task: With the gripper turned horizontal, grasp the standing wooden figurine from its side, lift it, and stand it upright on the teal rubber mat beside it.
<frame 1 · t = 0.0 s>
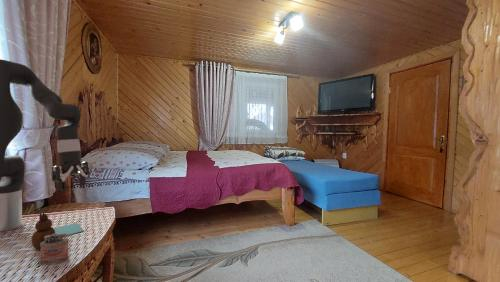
hand: (73, 188, 95), 22 cm above the table, tool pointing down, fingers open, 8 cm apart
mat: (65, 230, 102), on the table
lighter: (54, 261, 80), on the table
wooden figurine: (43, 247, 89), on the table
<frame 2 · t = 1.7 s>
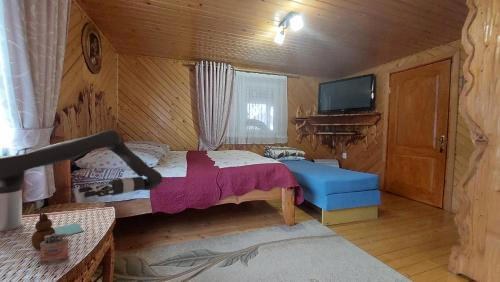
hand: (81, 192, 97), 20 cm above the table, tool horizontal, fingers open, 8 cm apart
nothing on the table moved.
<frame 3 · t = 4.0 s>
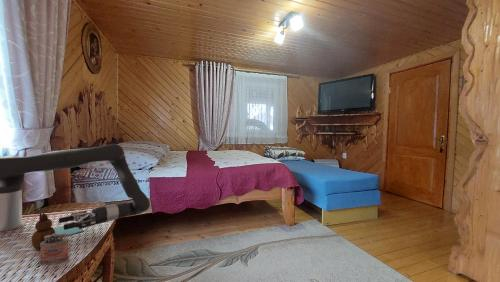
hand: (61, 223, 92), 8 cm above the table, tool horizontal, fingers open, 8 cm apart
nothing on the table moved.
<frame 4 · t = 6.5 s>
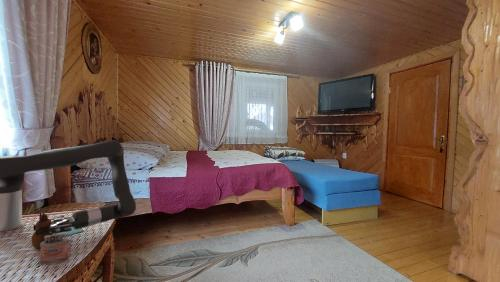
hand: (34, 229, 86), 8 cm above the table, tool horizontal, fingers closed on wooden figurine, 4 cm apart
wooden figurine: (43, 247, 88), on the table, touching gripper
everything else where it was.
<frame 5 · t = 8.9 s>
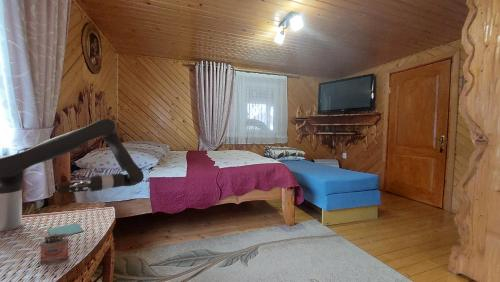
hand: (56, 188, 98), 21 cm above the table, tool horizontal, fingers closed on wooden figurine, 4 cm apart
wooden figurine: (64, 205, 100), point 12 cm above the table, touching gripper
everything else where it was.
when the fingers open (10 cm above the table, at t = 11.6 s): wooden figurine drops 1 cm, resting on mat.
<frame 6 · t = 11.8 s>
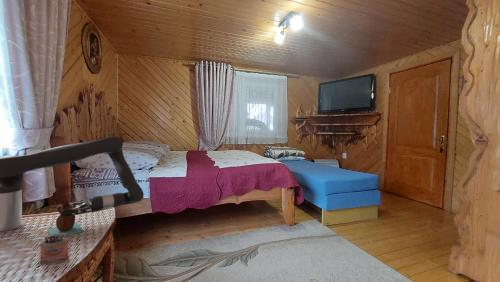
hand: (59, 211, 100), 10 cm above the table, tool horizontal, fingers open, 6 cm apart
wooden figurine: (65, 230, 103), resting on mat
everything else where it was.
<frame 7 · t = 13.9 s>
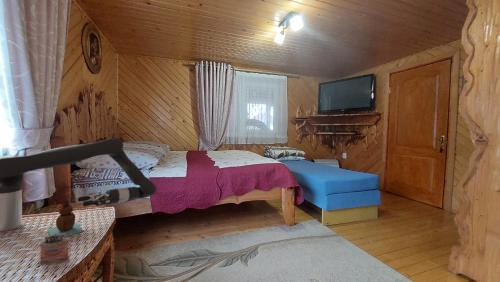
hand: (80, 201, 105), 13 cm above the table, tool horizontal, fingers open, 8 cm apart
nothing on the table moved.
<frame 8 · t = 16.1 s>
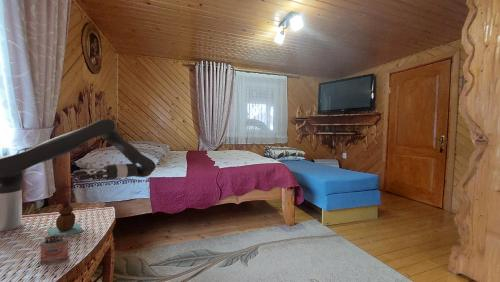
hand: (76, 175, 101), 26 cm above the table, tool horizontal, fingers open, 8 cm apart
nothing on the table moved.
at the end: wooden figurine inside the target area on the mat (0.3 cm from its centre), point 0.2 cm above the mat's base; wooden figurine tilted 0°; the gripper is holding nothing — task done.
